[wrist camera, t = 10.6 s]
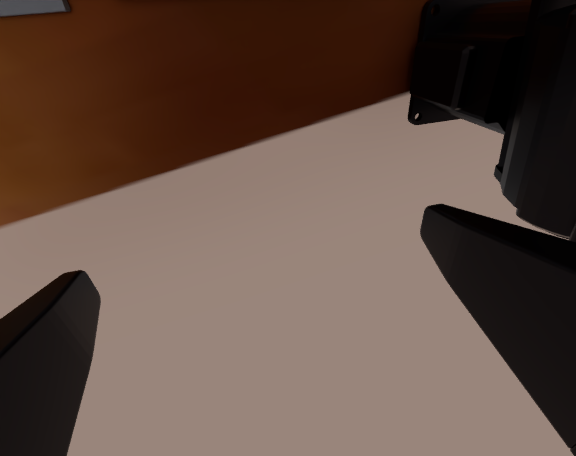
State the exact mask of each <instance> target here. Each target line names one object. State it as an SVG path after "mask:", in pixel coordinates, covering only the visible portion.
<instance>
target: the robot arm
mask: <svg viewBox="0 0 576 456" xmlns="http://www.w3.org/2000/svg"><path fill="white" fill-rule="evenodd" d="M433 6H435V7H436V11H435V13H434V14H433V15H432V14H431V10H432V7H433ZM410 94H411V98H410V105H409V112H408V121H409V122H410V123H412V124H414V125H421V124H427V123H435V122H441V121H448V120H455V119H464V120H467V121H469V122H472V123H474V124H477V125H480V126H483V127H485V128H488V129H491V130H493V131H496V132H498V133H501V134H504V139H503V144H502V149H501V154H500V159H499V163H498V164H497V165H496V167H495V172H494V176H495V177H496V179H497V180H498V181H499V182H500V184H501V189H502V193H503V195H504V196H505V197H506V198H507V199H508V200H509V201H510V202H511V203H512V204H513V206H515V207H516V208H517V210H516V215H517V216H518V217H519V218H521V219H522V220H524V221H526V222H527V223H529V224H532V225H533V226H535V227H537V228H539V229H542V230H545V231H547V232H549V233H552V234H554V235H556V236H559V237H563V238H566V239H569V240H566V239H562V238H558V237H555V236H552V235H548V234H545V233H542V232H538V231H535V230H531V229H528V228H524V227H521V226H517V225H514V224H510V223H507V222H503V221H500V220H496V219H493V218H490V217H486V216H482V215H479V214H476V213H472V212H469V211H465V210H462V209H458V208H455V207H451V206H448V205H444V204H436V205H431V206H428V207H426V209H425V211H424V215H423V220H422V225H421V229H420V234H421V237H422V240H423V242H424V243H425V245H426V247H427V249H428V250H429V252H430V254H431V255H432V257H433V259H434V261H435V262H436V264H437V266H438V267H439V269H440V271H441V273H442V274H443V276H444V278H445V279H446V281H447V282H448V284H449V285H450V287H451V288H452V289H453V291H454V292H455V294H456V295H457V296H458V298H459V299H460V300H461V302H462V303H463V304H464V306H465V307H466V309H467V310H468V311H469V313H470V314H471V315H472V317H473V318H474V320H475V321H476V322H477V324H478V325H479V326H480V328H481V329H482V330H483V332H484V333H485V335H486V336H487V337H488V338H489V340H490V341H491V343H492V344H493V345H494V347H495V348H496V349H497V351H498V352H499V354H500V355H501V356H502V357H503V359H504V360H505V362H506V363H507V364H508V366H509V367H510V369H511V370H512V371H513V373H514V374H515V375H516V377H517V378H518V379H519V381H520V382H521V384H522V385H523V386H524V388H525V389H526V390H527V392H528V393H529V394H530V396H531V397H532V399H533V400H534V401H535V403H536V404H537V405H538V407H539V408H540V410H542V412H543V413H544V415H545V416H546V418H547V419H548V420H549V422H550V423H551V425H552V426H553V427H554V429H555V430H556V431H557V433H558V434H559V435H560V437H561V438H562V439H563V441H564V442H565V443H566V445H567V446H568V447H569V448H571V449H570V451H571V452H572V453H573V455H574V456H576V0H429V1H428V2H427V3H426V5H425V6H424V9H423V13H422V20H421V27H420V34H419V41H418V45H417V47H416V50H415V58H414V65H413V72H412V79H411V86H410ZM417 113H419V116H418V118H417V119H415V115H416V114H417ZM100 303H101V301H100V295H99V293H98V291H97V289H96V287H95V286H94V284H93V283H92V281H91V279H90V278H89V276H88V275H87V273H86V272H85V271H82V270H78V271H73V272H67V273H64V274H62V275H60V276H59V277H58V278H56V279H55V280H54V281H52V282H51V283H49V284H48V285H47V286H45V287H44V288H43V289H41V290H40V291H39V292H37V293H36V294H34V295H33V296H32V297H30V298H29V299H27V300H26V301H25V302H24V303H22V304H21V305H19V306H18V307H16V308H15V309H14V310H12V311H11V312H10V313H8V314H7V315H6V316H4V317H3V318H1V319H0V456H67V452H68V448H69V444H70V441H71V438H72V434H73V430H74V426H75V422H76V419H77V415H78V411H79V408H80V404H81V400H82V396H83V393H84V389H85V385H86V381H87V378H88V374H89V370H90V366H91V361H92V357H93V351H94V345H95V338H96V331H97V324H98V316H99V310H100Z"/></svg>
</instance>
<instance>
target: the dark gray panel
mask: <svg viewBox="0 0 576 456" xmlns="http://www.w3.org/2000/svg"><path fill="white" fill-rule="evenodd" d="M67 11H71V10H70V7H69V4H68V2H67V0H0V17H6V16H18V15H30V14H42V13H54V12H67Z"/></svg>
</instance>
